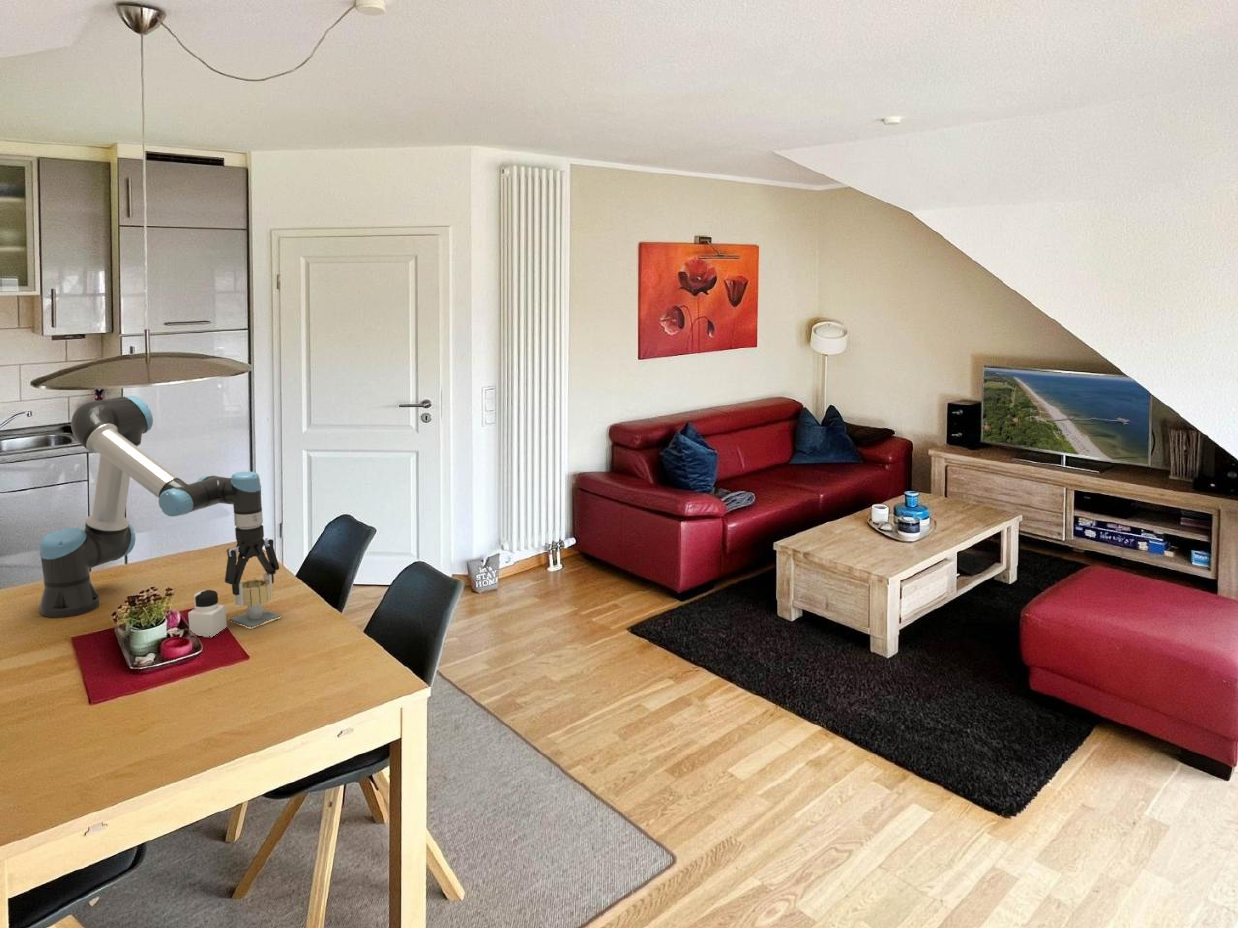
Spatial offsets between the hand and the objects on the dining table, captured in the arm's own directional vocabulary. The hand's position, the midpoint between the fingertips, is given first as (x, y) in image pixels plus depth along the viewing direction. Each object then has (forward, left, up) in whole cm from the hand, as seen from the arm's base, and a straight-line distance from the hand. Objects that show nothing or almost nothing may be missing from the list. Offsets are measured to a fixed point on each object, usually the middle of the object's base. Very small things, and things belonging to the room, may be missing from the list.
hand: (254, 599), depth 257 cm
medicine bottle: (-3, -13, -7) cm, 15 cm away
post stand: (0, 0, -6) cm, 6 cm away
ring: (0, 0, 0) cm, 0 cm away
